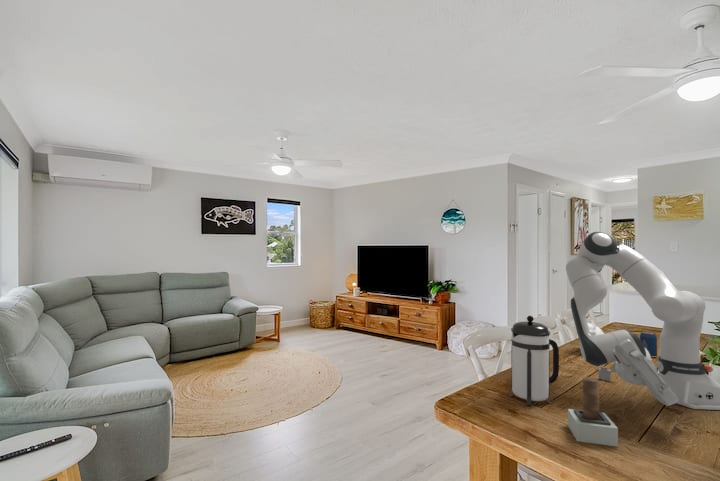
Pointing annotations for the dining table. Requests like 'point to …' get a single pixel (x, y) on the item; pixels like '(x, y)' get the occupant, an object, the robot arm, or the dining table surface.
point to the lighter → (606, 373)
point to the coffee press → (532, 361)
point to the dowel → (590, 398)
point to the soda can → (649, 342)
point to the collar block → (592, 428)
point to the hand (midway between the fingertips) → (653, 371)
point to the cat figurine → (594, 330)
